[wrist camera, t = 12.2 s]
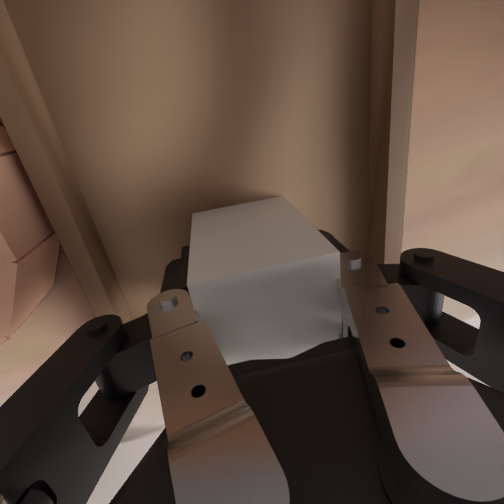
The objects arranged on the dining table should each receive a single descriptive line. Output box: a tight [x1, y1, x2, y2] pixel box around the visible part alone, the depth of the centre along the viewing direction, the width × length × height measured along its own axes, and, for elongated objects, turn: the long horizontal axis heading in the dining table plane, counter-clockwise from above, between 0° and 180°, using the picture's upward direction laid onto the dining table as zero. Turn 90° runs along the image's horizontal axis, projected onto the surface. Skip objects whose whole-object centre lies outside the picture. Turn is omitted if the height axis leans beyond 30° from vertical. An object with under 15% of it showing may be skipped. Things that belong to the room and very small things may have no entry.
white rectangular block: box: [187, 196, 342, 365], centre depth 11 cm, size 4×4×6 cm
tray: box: [0, 0, 419, 324], centre depth 12 cm, size 14×16×2 cm
